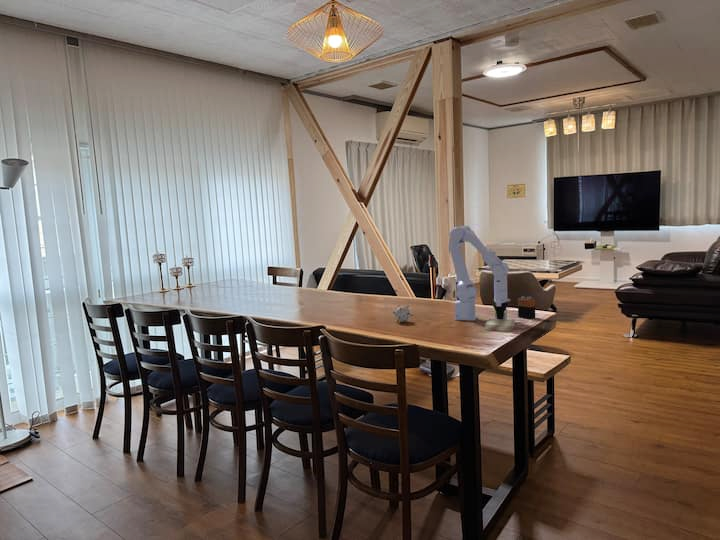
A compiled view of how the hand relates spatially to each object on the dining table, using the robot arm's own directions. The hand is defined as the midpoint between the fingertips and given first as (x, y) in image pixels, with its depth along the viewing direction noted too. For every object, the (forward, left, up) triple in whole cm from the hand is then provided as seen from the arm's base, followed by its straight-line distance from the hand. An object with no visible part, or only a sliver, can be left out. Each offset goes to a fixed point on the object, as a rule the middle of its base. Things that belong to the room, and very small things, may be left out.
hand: (501, 319), depth 229 cm
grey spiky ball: (-44, -9, -2) cm, 45 cm away
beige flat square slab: (+1, -11, -2) cm, 11 cm away
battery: (+10, +12, -2) cm, 16 cm away
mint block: (0, 0, -1) cm, 1 cm away
